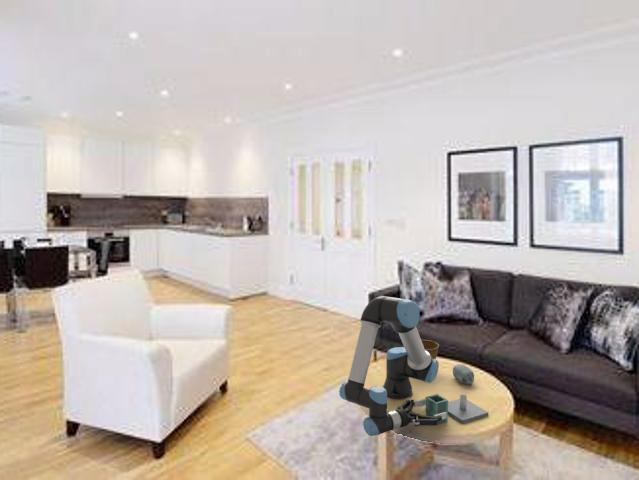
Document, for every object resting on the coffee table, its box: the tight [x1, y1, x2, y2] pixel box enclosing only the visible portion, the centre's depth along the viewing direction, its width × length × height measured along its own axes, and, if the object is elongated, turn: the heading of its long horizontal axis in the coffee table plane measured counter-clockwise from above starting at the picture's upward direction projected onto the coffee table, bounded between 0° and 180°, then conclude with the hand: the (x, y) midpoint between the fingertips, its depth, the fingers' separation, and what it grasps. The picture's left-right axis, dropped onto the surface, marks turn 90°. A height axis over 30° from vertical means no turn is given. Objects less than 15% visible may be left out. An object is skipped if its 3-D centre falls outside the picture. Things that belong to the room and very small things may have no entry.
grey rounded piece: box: [452, 363, 475, 385], centre depth 241 cm, size 14×10×10 cm
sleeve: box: [424, 393, 449, 425], centre depth 201 cm, size 7×7×10 cm
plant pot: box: [421, 339, 440, 360], centre depth 254 cm, size 15×15×16 cm
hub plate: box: [448, 392, 489, 424], centre depth 208 cm, size 16×16×9 cm
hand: (435, 408), depth 200 cm, fingers open, 13 cm apart
